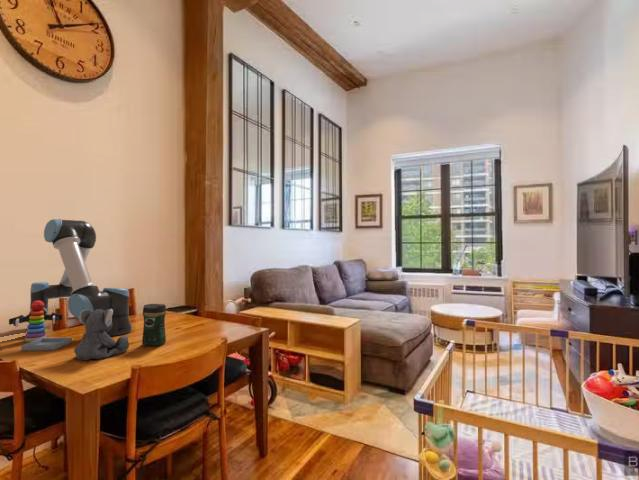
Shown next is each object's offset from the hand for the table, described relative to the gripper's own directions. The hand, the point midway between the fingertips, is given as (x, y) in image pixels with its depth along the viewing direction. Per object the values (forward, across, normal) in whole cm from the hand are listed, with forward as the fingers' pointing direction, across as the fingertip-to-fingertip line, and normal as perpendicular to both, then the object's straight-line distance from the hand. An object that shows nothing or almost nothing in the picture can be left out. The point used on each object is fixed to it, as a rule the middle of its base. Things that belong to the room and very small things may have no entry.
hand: (35, 322), depth 165 cm
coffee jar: (+34, -44, -9) cm, 57 cm away
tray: (+13, -5, -9) cm, 16 cm away
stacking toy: (-2, 0, -9) cm, 10 cm away
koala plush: (+39, -22, -9) cm, 46 cm away
